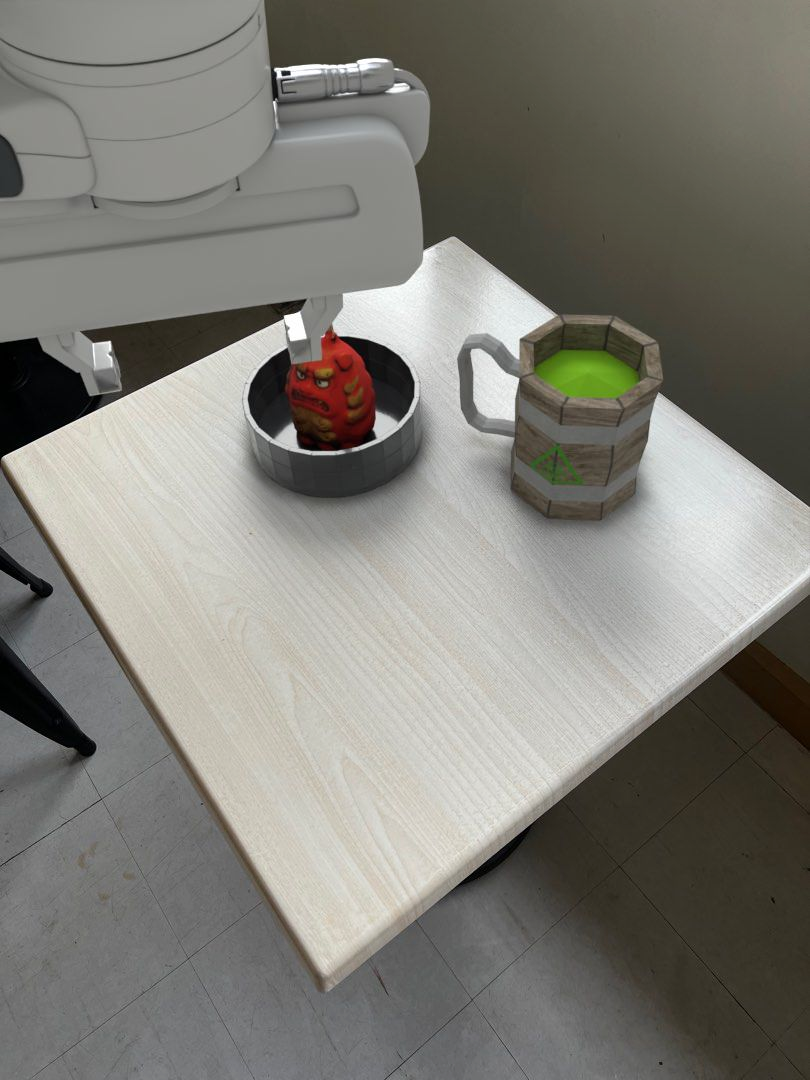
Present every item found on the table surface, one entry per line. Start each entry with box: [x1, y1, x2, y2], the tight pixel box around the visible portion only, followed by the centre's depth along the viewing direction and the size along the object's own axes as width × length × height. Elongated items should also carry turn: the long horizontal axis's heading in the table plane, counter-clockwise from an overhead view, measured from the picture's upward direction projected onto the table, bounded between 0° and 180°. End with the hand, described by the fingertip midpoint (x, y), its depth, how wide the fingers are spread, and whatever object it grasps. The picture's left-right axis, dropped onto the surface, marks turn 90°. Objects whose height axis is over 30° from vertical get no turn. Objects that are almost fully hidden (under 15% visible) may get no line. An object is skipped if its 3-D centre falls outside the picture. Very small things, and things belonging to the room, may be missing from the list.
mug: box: [456, 314, 664, 521], centre depth 69 cm, size 16×11×12 cm
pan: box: [241, 332, 423, 498], centre depth 75 cm, size 15×15×5 cm
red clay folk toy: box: [285, 323, 376, 451], centre depth 70 cm, size 8×7×15 cm
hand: (206, 368), depth 42 cm, fingers open, 8 cm apart
